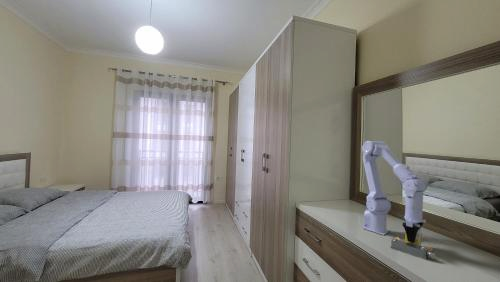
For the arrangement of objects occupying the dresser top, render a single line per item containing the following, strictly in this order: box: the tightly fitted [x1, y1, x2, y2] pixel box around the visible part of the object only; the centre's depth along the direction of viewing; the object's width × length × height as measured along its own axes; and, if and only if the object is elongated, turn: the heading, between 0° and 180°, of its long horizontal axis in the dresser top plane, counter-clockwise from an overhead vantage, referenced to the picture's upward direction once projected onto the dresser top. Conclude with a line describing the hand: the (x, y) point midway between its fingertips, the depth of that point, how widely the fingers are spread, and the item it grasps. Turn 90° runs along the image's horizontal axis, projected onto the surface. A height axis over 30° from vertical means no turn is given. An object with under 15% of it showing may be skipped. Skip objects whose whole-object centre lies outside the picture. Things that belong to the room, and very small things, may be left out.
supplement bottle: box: [404, 223, 423, 247], centre depth 89 cm, size 5×5×10 cm
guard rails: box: [395, 236, 434, 252], centre depth 88 cm, size 12×8×1 cm, turn 43°
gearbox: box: [390, 237, 436, 260], centre depth 83 cm, size 13×4×3 cm, turn 43°
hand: (412, 239), depth 89 cm, fingers closed on supplement bottle, 5 cm apart
